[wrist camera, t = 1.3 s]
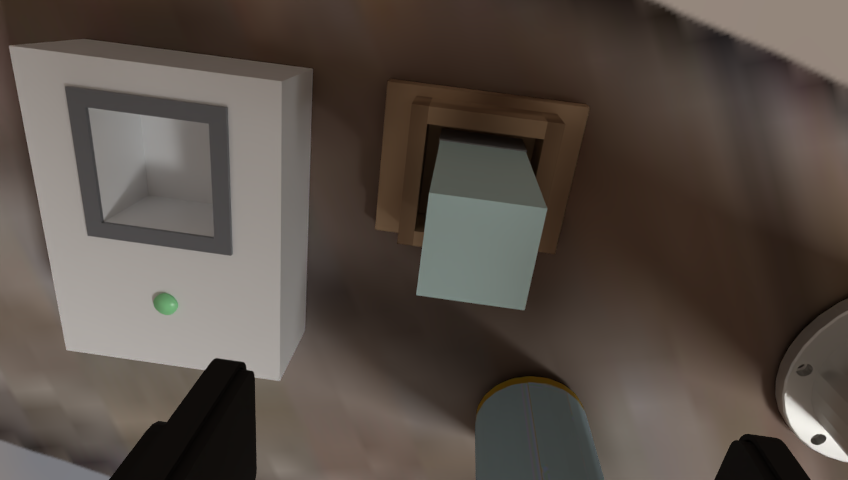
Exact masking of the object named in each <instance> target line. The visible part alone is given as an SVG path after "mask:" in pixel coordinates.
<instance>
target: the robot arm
mask: <svg viewBox="0 0 848 480" xmlns="http://www.w3.org/2000/svg"><path fill="white" fill-rule="evenodd" d="M775 396H776V401H777V405H778V409H779V411H780V413H781V415H782V417H783V419H784V421H785V423H786V424H787V425H788V426H789V428H790V429H791V430H792V431H793V433H794V434H795V435H796V437H797V438H798V439H799V440H800V441H802V442H803V443H804V444H805V445H806V446H807V447H809V448H810V449H812V450H814V451H816V452H818V453H820V454H822V455H824V456H826V457H829V458H832V459H836V460H839V461H842V462H848V298H847V299H845V300H843V301H841V302H839V303H837V304H836V305H834V306H833V307H831V308H830V309H828V310H827V311H825V312H824V313H822V314H821V315H819V316H818V317H817V318H816V319H815V320H813V321H812V322H811V323H810V324H809V325H808V326H807V327H806V328H805V329H803V330H802V332H801V333H800V334H799V335H798V336H797V338H796V339H795V340H794V341H793V343H792V344H791V345H790V346H789V348H788V350H787V352H786V354H785V356H784V358H783V359H782V361H781V363H780V367H779V370H778V374H777V377H776V388H775ZM256 470H257V466H256V419H255V376H254V372H253V371H250V370H247V369H246V364H245V363H244V362H240V361H233V360H226V359H219V358H215V359H213V360H212V361H211V363H210V364H209V365H208V367H207V368H206V369H205V371H204V372H203V373H202V375H201V376H200V378H199V379H198V380H197V382H196V383H195V384H194V386H193V387H192V389H191V390H190V391H189V393H188V394H187V395H186V397H185V398H184V400H183V401H182V402H181V404H180V405H179V406H178V408H177V409H176V411H175V412H174V413H173V415H172V416H171V417H170V419H169V420H168V422H161V421H158V422H156V423H154V424H152V425H151V427H150V428H149V429H148V430H147V431H146V432H145V433H144V435H143V436H142V437H141V439H140V440H139V441H138V443H137V444H136V445H135V447H134V448H133V449H132V451H131V452H130V453H129V454H128V456H127V457H126V458H125V460H124V461H123V462H122V464H121V465H120V466H119V468H118V469H117V470H116V472H115V473H114V474H113V475H112V477H111V478H110V479H109V480H255V478H256ZM715 480H810V478H809V477H808V475H807V474H806V473H805V471H804V470H803V468H802V467H801V466H800V464H799V463H798V461H797V460H796V459H795V457H794V456H793V454H792V453H791V452H790V450H789V449H788V447H787V446H786V445H785V444H784V443H783V441H782V440H780V439H778V438H772V437H765V436H758V435H751V434H745V435H743V436H742V437H741V438H740V439H739V441H738V440H735V441H733V442H732V443H731V445H730V447H729V449H728V451H727V453H726V456H725V458H724V460H723V462H722V464H721V467H720V469H719V471H718V473H717V475H716V478H715Z"/></svg>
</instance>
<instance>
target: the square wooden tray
mask: <svg viewBox="0 0 848 480" xmlns="http://www.w3.org/2000/svg"><path fill="white" fill-rule="evenodd" d="M589 110H590V107H589V106H587V105H586V104H580V103H573V102H565V101H557V100H550V99H542V98H534V97H527V96H519V95H511V94H504V93H496V92H488V91H481V90H473V89H465V88H458V87H450V86H442V85H435V84H427V83H419V82H412V81H404V80H397V79H389V80H388V82H387V94H386V106H385V118H384V129H383V141H382V153H381V165H380V176H379V188H378V200H377V212H376V223H375V230H382V231H389V232H396V233H398V239H397V244H404V245H412V246H419V247H422V245H423V237H424V229H425V221H426V213H427V206H428V198H429V191H430V186H431V182H432V177H433V172H434V168H435V163H436V158H437V154H438V146H439V139H440V134H441V130H442V128H443V129H451V130H458V131H466V132H473V133H481V134H489V135H496V136H504V137H511V138H519V139H523V142H524V144H525V147H526V150H527V153H526V154H527V156H528V159H529V162H530V164H531V167H532V170H533V172H534V175H535V177H536V180H537V183H538V185H539V188H540V191H541V193H542V196H543V198H544V201H545V204H546V206H547V213H546V217H545V222H544V226H543V230H542V235H541V239H540V244H539V248H538V252H542V253H549V254H555V252H556V248H557V244H558V239H559V235H560V231H561V227H562V223H563V219H564V214H565V210H566V206H567V202H568V198H569V193H570V189H571V185H572V181H573V177H574V173H575V168H576V164H577V160H578V156H579V152H580V147H581V143H582V139H583V135H584V131H585V127H586V122H587V118H588V114H589Z"/></svg>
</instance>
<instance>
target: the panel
mask: <svg viewBox="0 0 848 480" xmlns="http://www.w3.org/2000/svg"><path fill="white" fill-rule="evenodd" d="M9 50H10V55H11V61H12V66H13V71H14V76H15V82H16V87H17V92H18V98H19V103H20V108H21V113H22V119H23V124H24V129H25V134H26V140H27V145H28V150H29V155H30V161H31V166H32V171H33V176H34V182H35V187H36V192H37V198H38V203H39V208H40V213H41V219H42V224H43V229H44V234H45V240H46V245H47V250H48V255H49V261H50V266H51V271H52V277H53V282H54V287H55V292H56V298H57V303H58V308H59V313H60V319H61V324H62V329H63V334H64V340H65V345H66V350H69V351H76V352H83V353H90V354H97V355H104V356H111V357H118V358H125V359H131V360H138V361H145V362H152V363H159V364H166V365H173V366H180V367H187V368H194V369H200V370H205V369H206V368H207V367H208V365H209V364H210V363H211V361H212V360H213V359H215V358H219V359H226V360H233V361H240V362H244V363H245V364H246V369H247V370H250V371H253V372H254V376H255V377H256V378H262V379H269V380H276V381H280V380H281V378H282V376H283V374H284V372H285V370H286V368H287V366H288V364H289V362H290V360H291V358H292V356H293V354H294V352H295V350H296V348H297V346H298V344H299V342H300V340H301V338H302V336H303V334H304V332H305V322H306V289H307V255H308V221H309V187H310V154H311V120H312V86H313V69H312V68H305V67H297V66H289V65H282V64H274V63H266V62H259V61H251V60H243V59H236V58H228V57H220V56H213V55H205V54H197V53H190V52H182V51H174V50H167V49H159V48H152V47H144V46H136V45H129V44H121V43H113V42H106V41H98V40H90V39H76V40H65V41H53V42H42V43H31V44H20V45H9Z"/></svg>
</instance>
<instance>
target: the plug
mask: <svg viewBox="0 0 848 480" xmlns="http://www.w3.org/2000/svg"><path fill="white" fill-rule="evenodd" d="M526 153H527V150H526V147H525V144H524V142H523V139H519V138H511V137H504V136H496V135H489V134H481V133H473V132H466V131H458V130H451V129H443V128H442V130H441V134H440V139H439V146H438V154H437V158H436V163H435V168H434V172H433V177H432V182H431V186H430V191H429V198H428V206H427V213H426V221H425V229H424V237H423V245H422V253H421V261H420V269H419V277H418V285H417V293H416V295H418V296H425V297H433V298H440V299H447V300H454V301H461V302H468V303H475V304H483V305H490V306H497V307H504V308H511V309H518V310H525V306H526V302H527V297H528V293H529V288H530V284H531V280H532V275H533V271H534V266H535V262H536V257H537V253H538V248H539V244H540V239H541V235H542V230H543V226H544V222H545V217H546V213H547V206H546V204H545V201H544V198H543V196H542V193H541V191H540V188H539V185H538V183H537V180H536V177H535V175H534V172H533V170H532V167H531V164H530V162H529V159H528V156H527V154H526Z"/></svg>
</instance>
